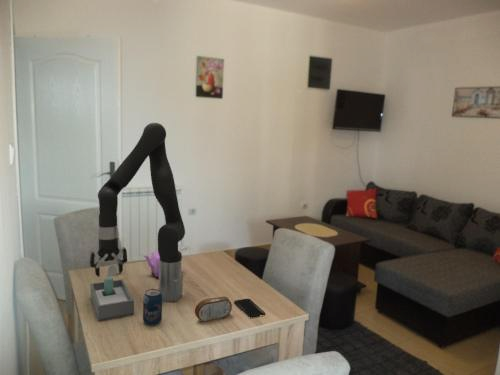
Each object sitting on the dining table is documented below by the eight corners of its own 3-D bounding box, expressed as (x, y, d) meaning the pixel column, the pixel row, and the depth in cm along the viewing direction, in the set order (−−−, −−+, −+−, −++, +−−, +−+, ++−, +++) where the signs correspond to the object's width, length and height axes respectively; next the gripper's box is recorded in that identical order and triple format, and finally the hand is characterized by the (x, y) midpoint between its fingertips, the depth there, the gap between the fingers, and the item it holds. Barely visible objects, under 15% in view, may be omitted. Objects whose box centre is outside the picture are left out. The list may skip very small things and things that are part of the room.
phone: (249, 298, 167) (266, 313, 154) (248, 300, 167) (266, 316, 154) (232, 301, 163) (249, 317, 150) (232, 303, 163) (249, 319, 150)
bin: (122, 292, 166) (122, 279, 165) (133, 314, 147) (133, 300, 147) (90, 297, 160) (90, 283, 159) (98, 321, 141) (98, 306, 140)
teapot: (178, 268, 197) (179, 245, 195) (184, 276, 188) (185, 252, 186) (139, 273, 188) (139, 249, 186) (143, 281, 179) (144, 256, 177)
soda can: (144, 327, 139) (144, 297, 137) (141, 318, 145) (142, 289, 143) (163, 325, 141) (164, 294, 140) (159, 316, 148) (160, 287, 146)
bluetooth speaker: (228, 313, 153) (230, 294, 152) (232, 317, 151) (233, 297, 149) (194, 320, 146) (194, 300, 145) (197, 324, 143) (197, 303, 142)
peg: (115, 296, 160) (115, 278, 159) (109, 300, 157) (109, 281, 155) (108, 294, 161) (108, 277, 160) (102, 298, 158) (102, 280, 156)
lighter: (108, 276, 182) (108, 260, 181) (107, 275, 184) (107, 259, 182) (123, 274, 186) (123, 258, 185) (122, 273, 187) (122, 257, 186)
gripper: (124, 232, 161) (124, 268, 163) (88, 236, 153) (89, 274, 156) (128, 236, 154) (128, 274, 157) (91, 240, 147) (92, 280, 149)
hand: (109, 274), depth 156 cm, fingers open, 8 cm apart
